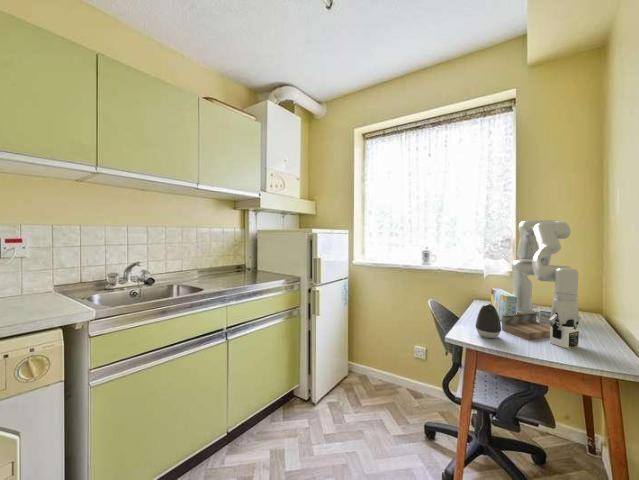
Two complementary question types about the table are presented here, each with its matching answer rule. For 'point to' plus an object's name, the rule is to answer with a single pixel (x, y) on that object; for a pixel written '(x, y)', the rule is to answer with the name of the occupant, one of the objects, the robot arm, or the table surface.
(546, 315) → the medicine box
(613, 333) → the table surface
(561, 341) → the medicine bottle
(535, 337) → the brown piece
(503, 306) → the snack box
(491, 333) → the dark egg-shaped spouted container
